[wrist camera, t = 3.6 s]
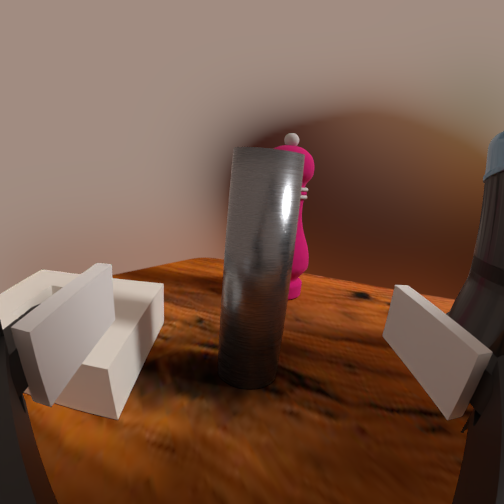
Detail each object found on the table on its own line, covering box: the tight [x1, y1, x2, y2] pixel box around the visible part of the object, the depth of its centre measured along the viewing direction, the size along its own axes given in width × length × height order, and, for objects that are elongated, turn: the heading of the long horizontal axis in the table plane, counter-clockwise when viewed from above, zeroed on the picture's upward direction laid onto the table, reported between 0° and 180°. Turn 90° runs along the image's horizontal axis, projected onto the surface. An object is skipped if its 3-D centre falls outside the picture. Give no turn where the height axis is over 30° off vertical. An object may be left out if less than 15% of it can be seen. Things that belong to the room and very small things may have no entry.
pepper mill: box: [274, 133, 314, 300], centre depth 38 cm, size 7×7×20 cm
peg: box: [218, 147, 305, 389], centre depth 21 cm, size 4×4×16 cm
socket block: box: [0, 269, 164, 420], centre depth 22 cm, size 14×14×4 cm
